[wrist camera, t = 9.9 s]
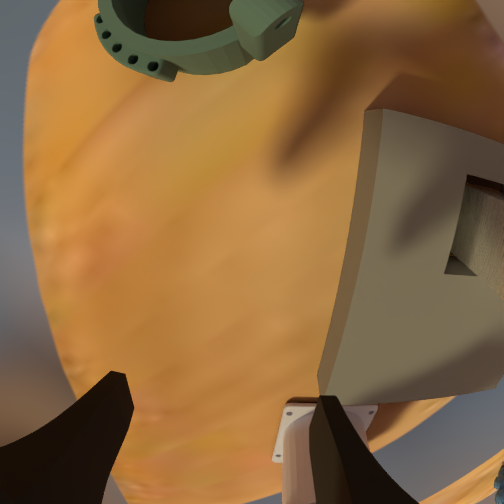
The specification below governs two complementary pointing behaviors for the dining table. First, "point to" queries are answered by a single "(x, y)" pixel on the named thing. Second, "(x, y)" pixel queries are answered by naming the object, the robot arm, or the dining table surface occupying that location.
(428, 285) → the well board
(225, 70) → the bracket
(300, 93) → the dining table surface
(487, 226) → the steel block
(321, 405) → the robot arm
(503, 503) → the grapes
